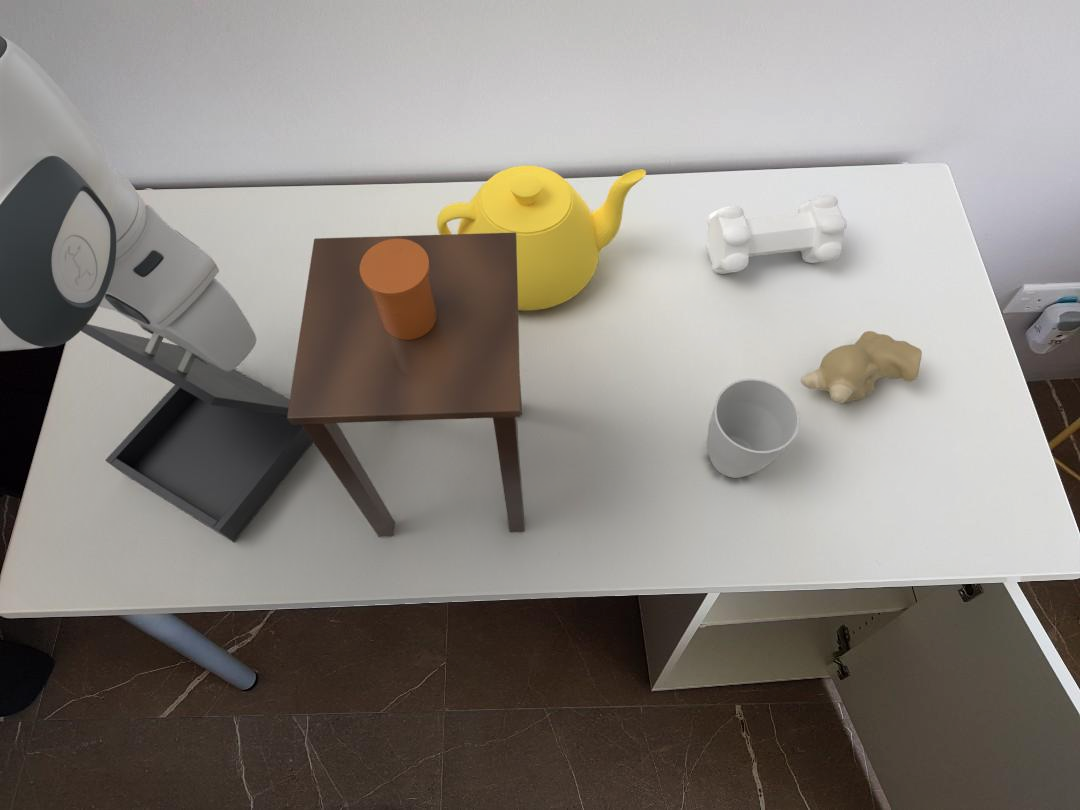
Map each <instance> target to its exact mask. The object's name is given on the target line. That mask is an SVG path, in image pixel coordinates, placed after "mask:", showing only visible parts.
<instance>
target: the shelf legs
mask: <svg viewBox="0 0 1080 810" xmlns="http://www.w3.org/2000/svg"><path fill="white" fill-rule="evenodd" d="M521 388H522V385H521V383H520V405H521V416H523V405H522V404H523V402H522V389H521ZM517 418H518V417H503V418H492V420H493V427H494V436H495V443H496V448H497V449H496V450H497V454H498V463H499V468H500V469H499V470H500V476H501V483H502V489H503V498H504V501H505V502H504V503H505V510H506V517H507V524H508V530H509V531H508V532H509V533H522V532H523V533H524V532H525V531H526V527H525V525H526V524H525V523H526V521H525V520H526V519H525V506H524V495H523V483H522V481H523V479H522V470H521V469H522V468H521V456H520V455H521V454H520V445H519V444H520V443H519V432H518V431H519V430H518V419H517ZM301 425H302V426H303V428H304V429H305V431H306V432H307V433H308V435H309V436H310V438H311V439H312V441H313V444H314V445H315V446H316V448H317V450H318V451H319V452H320V454H321V455H322V457H323V458H324V460H325V461H326V463H327V465H328V466H329V467H330V468H331V470H332V471H333V473H334V474H335V476H336V477H337V479H338V480H339V481H340V484H342V486H343V487H344V489H345V491H347V494H349V496H350V497H351V498H352V500H353V502H354V503H355V504H356V506H357V508H358V509H359V510H360V512H361V514H362V515H363V517H364V518H365V519H366V521H367V522H368V524H369V525H370V526H371V528H372V529H373V531H374V532H375V534H376V535H377V537H379V538H381V537H383V538H385V537H394V536H395V525H396V524H395V523H396V521H395V520H394V518H393V516H392V514H391V513H390V511H389V509H388V508H387V506H386V504H385V502H384V501H383V499H382V497H381V495H380V494H379V492H378V490H377V489H376V487H375V486H374V484H373V482H372V480H371V479H370V477H369V475H368V474H367V471H366V470H365V468H364V467H363V465H362V463H361V462H360V459H359V458H358V456H357V454H356V453H355V451H354V450H353V448H352V445H350V443H349V441H348V440H347V437H346V436H345V434H344V432H343V431H342V429H341V427H340V426H339V423H322V424H301Z"/></svg>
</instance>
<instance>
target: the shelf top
mask: <svg viewBox="0 0 1080 810" xmlns="http://www.w3.org/2000/svg"><path fill="white" fill-rule="evenodd" d="M390 239H406V240H410V241H412V242H415V243H417V244H418V245H420V246H421V247H422V248H423V249H424V250H425V252H426V253H427V256H428V258H429V263H430V269H429V274H428V278H429V283H430V287H431V291H432V295H433V300H434V304H435V308H436V313H437V317H436V322H435V324H434V326H433V327H432V329H431V330H430V331H429V332H428V333H427V334H425V335H424V336H422V337H419V338H416V339H412V340H403V339H398V338H395V337H393V336H392V335H390V334H389V333H388V332H387V331H386V330H385V328H384V326H383V323H382V320H381V317H380V315H379V312H378V309H377V306H376V303H375V301H374V298H373V295H372V292H371V290H370V289H368V288H367V287H366V285H365V284H364V282H363V280H362V278H361V275H360V263H361V260H362V258H363V256H364V255H365V253H366V252H367V251H368V250H369V249H370V248H371V247H373V246H374V245H376V244H378V243H380V242H382V241H386V240H390ZM304 297H305V298H304V303H303V309H302V317H301V323H300V329H299V337H298V342H297V343H298V344H297V349H296V357H295V362H294V369H293V376H292V382H291V388H290V389H291V390H290V396H289V399H290V402H289V408H288V415H287V419H288V420H289V422H290V423H291V424H322V423H337V424H346V423H347V424H348V423H349V424H351V423H380V422H404V421H405V422H409V421H411V422H412V421H437V420H438V421H439V420H469V419H471V420H472V419H493V418H503V417H517V418H520V417H521V416H522V415H521V405H520V384H521V371H520V369H521V368H520V367H521V366H520V325H519V322H520V321H519V310H518V278H517V238H516V233H515V232H512V233H479V234H458V233H451V234H446V235H440V234H419V235H418V234H417V235H416V234H415V235H385V236H383V235H382V236H356V237H355V236H352V237H349V236H348V237H320V238H319V237H318V238H316V237H315V238H314V239H313V245H312V252H311V258H310V264H309V269H308V277H307V283H306V290H305V296H304Z"/></svg>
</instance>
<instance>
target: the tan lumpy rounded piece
mask: <svg viewBox="0 0 1080 810" xmlns="http://www.w3.org/2000/svg"><path fill="white" fill-rule="evenodd" d="M922 353H923V352H922V349H921V348H919V347H917V346H915V345H912V344H911V343H909V342H907V341H905V340H896V339H894V338H892V337H891V336H890V335H888V334H881V333H877V332H875V331H874V330H873V331H872V330H871V331H870V330H867V331H864V332H863V333H862V334H861V336H860V337H859V339H857V341H855V343H853V344H845V345H841V346H838V347H836V348H833V349H831V350H830V351H829V352H827V353H826V354H825V355H824V356H823V358H822V360H821V362H820V366H819V367H818V369H816V370H814V371H809V372H808V373H807V374H805V375H803V376H801V377H800V383H801V384H802V385H803V386H804V387H806V388H807V389H809V390H816V391H817V390H819V391H820V390H822V391H825V392H828V393H829V396H830V399H831V400H832V401H834V402H835V403H843V404H847V403H849V402H852V401H854V400H855V401H858V400H861V399H862V398H864V397H865V396H867V395H869V394H871V393H873V392H874V391H875V383H876V382H877V380H878V379H880V378H885V379H888V380H898V379H902V380H904V382H905V383H911V382H914V381H915V380H916V379H917V378H918V375H919V372H920V366H921V361H922V356H923V354H922Z"/></svg>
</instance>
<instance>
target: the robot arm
mask: <svg viewBox="0 0 1080 810" xmlns="http://www.w3.org/2000/svg"><path fill="white" fill-rule="evenodd" d="M218 273H220V268H219V266H218V264H217V263H216V262H215V260H214V259H213V258H212V256H211V255H210V254H209V253H207V252H206V251H205V250H203V249H202V248H200V246H198V245H197V244H195V243H194V242H192V241H191V240H190V239H188V238H187V237H185V236H184V235H183V234H181V233H180V232H179V231H177V230H176V229H174V228H173V227H172V226H170V225H169V224H168V222H166V221H165V219H163V218H162V216H160V215H159V213H157V211H156V210H155V209H154V208H153V207H152V206H151V205H150V204H147V203H146V202H145V201H144V199H143V198H142V197H141V195H140V194H139V193H138V191H137V190H136V188H135V187H134V186H133V184H132V183H131V182H130V180H129V179H128V178H126V177H125V175H123V173H122V172H120V171H119V170H117V169H115V168H114V167H113V166H112V164H110V162H109V160H108V157H107V155H106V151H105V148H104V146H103V144H102V142H101V140H100V139H99V137H98V135H97V134H96V132H95V131H94V130H93V129H92V127H91V126H90V124H89V123H88V122H87V119H85V117H84V116H83V115H82V114H81V112H80V111H79V109H78V108H77V107H76V106H75V105H74V103H73V102H72V101H71V100H70V98H69V97H68V96H67V95H66V93H65V92H64V91H63V90H62V89H61V88H60V86H59V85H58V84H57V83H56V82H55V81H54V80H53V79H52V77H51V76H50V75H49V74H48V73H47V72H46V71H45V69H43V67H42V66H40V65H39V63H37V61H35V59H33V57H31V55H29V53H28V52H26V51H24V50H23V49H22V48H21V47H20V46H19V45H17V44H15V43H14V41H11V40H10V39H8V38H7V37H4V36H2V35H0V352H11V351H22V350H33V349H41V348H53V347H58V346H61V345H63V344H66V343H68V342H69V341H71V340H72V339H73V338H74V337H76V336H77V335H78V334H80V332H82V331H81V330H82V329H83V328H84V327H85V326H86V324H89V322H90V321H91V320H92V318H93V316H94V315H95V314H96V312H97V311H98V309H99V307H100V308H103V309H107V310H110V311H114V312H116V313H119V314H120V315H122V316H123V317H125V318H127V319H129V320H131V321H133V322H134V323H137V325H138V326H139V327H140V328H141V329H142V330H144V331H145V332H147V333H149V334H151V335H153V333H154V332H155V333H156V334H158V335H160V336H162V337H164V338H163V339H165V340H167V341H169V342H171V343H172V344H174V345H178V346H180V347H182V348H184V349H186V350H188V351H189V352H191V353H192V354H193V355H194V357H195V358H197V359H198V360H200V361H202V362H204V363H205V364H207V365H211V364H213V365H215V366H217V367H218V368H220V369H222V370H224V371H227V372H228V371H232V370H233V369H235V370H236V368H238V366H240V365H241V364H242V363H243V362H244V360H245V359H246V358H247V357H248V356H249V354H250V353H251V352H252V351H253V349H254V347H256V344H257V336H256V333H255V330H254V329H253V327H252V325H251V323H250V322H249V320H248V318H247V317H246V315H245V314H244V312H243V310H242V309H241V307H240V306H239V304H238V303H237V301H236V299H235V298H234V297H233V295H232V294H231V293H230V291H229V290H228V289H227V288H226V287H225V286H224V285H223V284H222V283H221V282H220V281H219V280H218V279H216V277H217V275H218Z"/></svg>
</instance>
